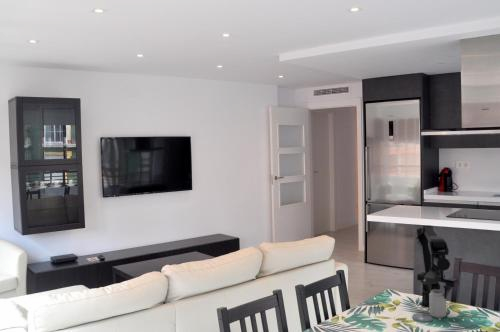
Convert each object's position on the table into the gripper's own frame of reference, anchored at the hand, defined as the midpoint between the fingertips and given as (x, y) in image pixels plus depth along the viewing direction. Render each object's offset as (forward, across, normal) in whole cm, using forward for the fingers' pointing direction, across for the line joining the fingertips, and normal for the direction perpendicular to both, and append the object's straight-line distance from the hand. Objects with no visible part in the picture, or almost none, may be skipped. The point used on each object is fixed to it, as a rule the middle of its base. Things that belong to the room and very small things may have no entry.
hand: (437, 297), depth 231 cm
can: (+9, 0, 0) cm, 9 cm away
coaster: (+9, -3, -9) cm, 13 cm away
